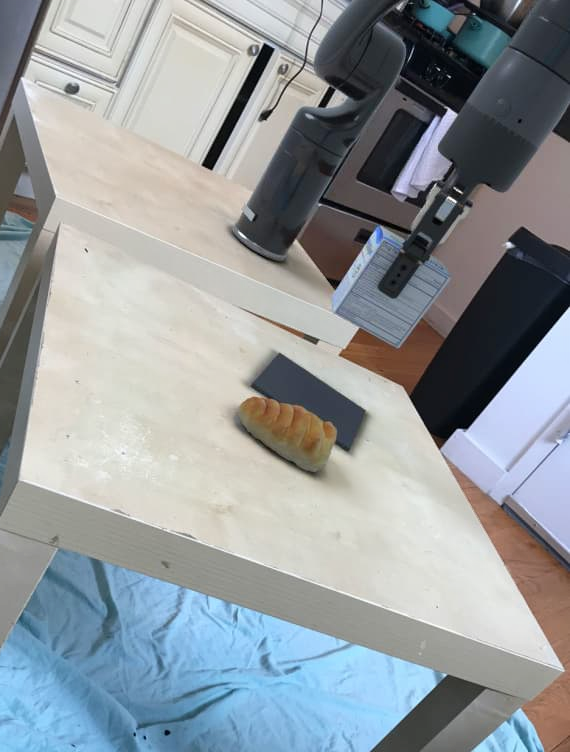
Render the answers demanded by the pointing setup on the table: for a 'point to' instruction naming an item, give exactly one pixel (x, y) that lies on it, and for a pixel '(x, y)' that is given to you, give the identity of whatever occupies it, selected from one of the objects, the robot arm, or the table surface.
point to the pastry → (289, 431)
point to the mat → (310, 397)
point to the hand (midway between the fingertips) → (389, 287)
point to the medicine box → (374, 308)
